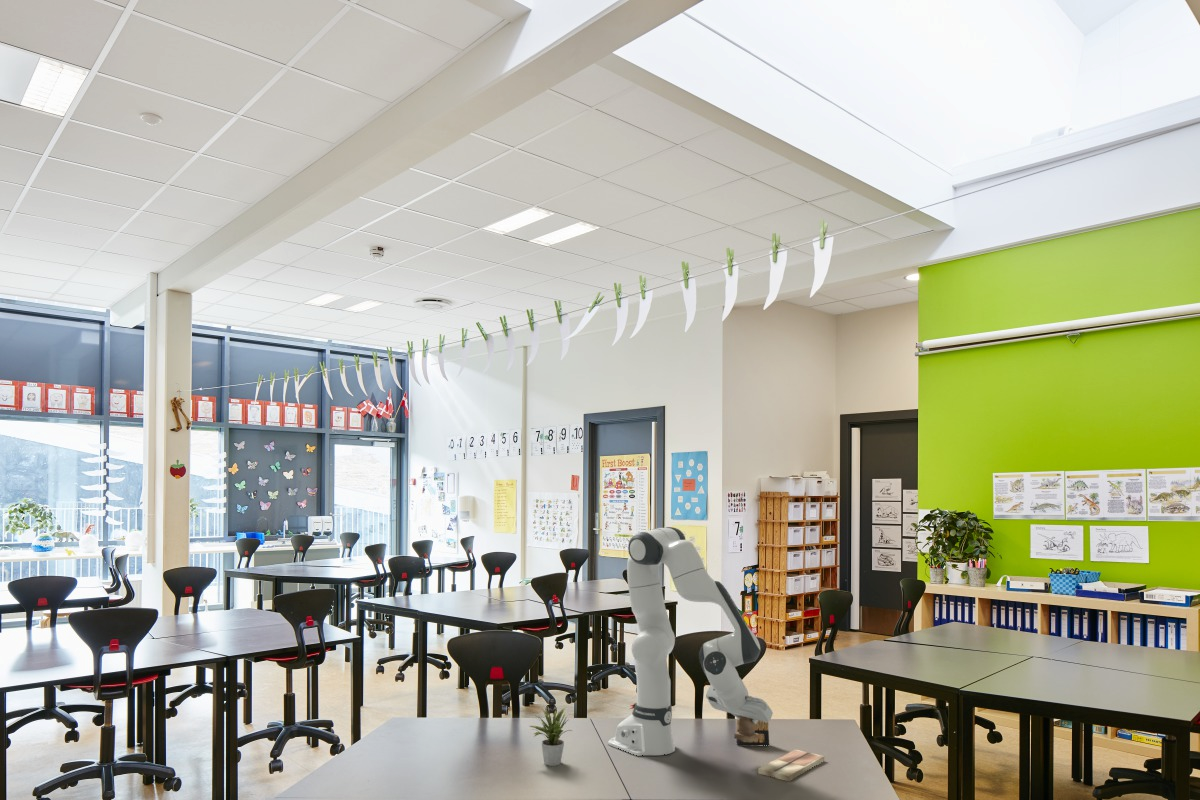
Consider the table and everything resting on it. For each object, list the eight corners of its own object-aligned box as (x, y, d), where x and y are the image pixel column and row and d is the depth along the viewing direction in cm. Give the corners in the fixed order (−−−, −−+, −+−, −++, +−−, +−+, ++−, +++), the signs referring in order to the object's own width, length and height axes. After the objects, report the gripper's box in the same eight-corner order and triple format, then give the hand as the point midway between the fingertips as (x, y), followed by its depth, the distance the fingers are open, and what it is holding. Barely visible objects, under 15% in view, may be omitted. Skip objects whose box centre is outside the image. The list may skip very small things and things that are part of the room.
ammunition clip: (768, 744, 281) (768, 707, 282) (769, 746, 279) (769, 709, 280) (736, 744, 281) (736, 707, 282) (737, 745, 279) (737, 708, 281)
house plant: (541, 751, 270) (542, 699, 272) (581, 757, 266) (582, 704, 267) (522, 765, 257) (523, 710, 258) (564, 771, 252) (565, 715, 254)
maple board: (758, 773, 253) (758, 767, 253) (795, 754, 271) (795, 748, 272) (788, 781, 247) (788, 775, 247) (824, 761, 265) (824, 755, 265)
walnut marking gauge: (734, 738, 262) (735, 701, 263) (743, 734, 266) (744, 698, 267) (749, 742, 258) (751, 705, 259) (758, 738, 262) (759, 702, 263)
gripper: (767, 692, 251) (781, 719, 258) (709, 678, 265) (724, 704, 271) (759, 710, 248) (774, 737, 254) (700, 695, 261) (716, 721, 268)
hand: (748, 720), depth 263 cm, fingers closed on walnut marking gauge, 3 cm apart
